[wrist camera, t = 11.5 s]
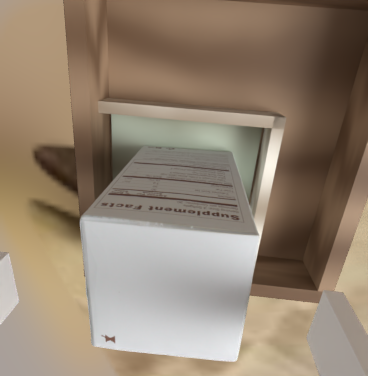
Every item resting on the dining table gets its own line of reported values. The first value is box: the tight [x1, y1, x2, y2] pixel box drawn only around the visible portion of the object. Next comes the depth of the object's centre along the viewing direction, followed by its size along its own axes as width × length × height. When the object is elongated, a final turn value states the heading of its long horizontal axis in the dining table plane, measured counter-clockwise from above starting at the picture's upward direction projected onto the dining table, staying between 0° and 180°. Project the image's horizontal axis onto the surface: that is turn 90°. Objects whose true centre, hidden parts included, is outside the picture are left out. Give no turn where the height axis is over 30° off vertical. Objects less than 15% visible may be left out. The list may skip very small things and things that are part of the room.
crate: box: [64, 0, 368, 303], centre depth 21 cm, size 22×20×4 cm
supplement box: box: [80, 146, 260, 361], centre depth 18 cm, size 7×7×13 cm
